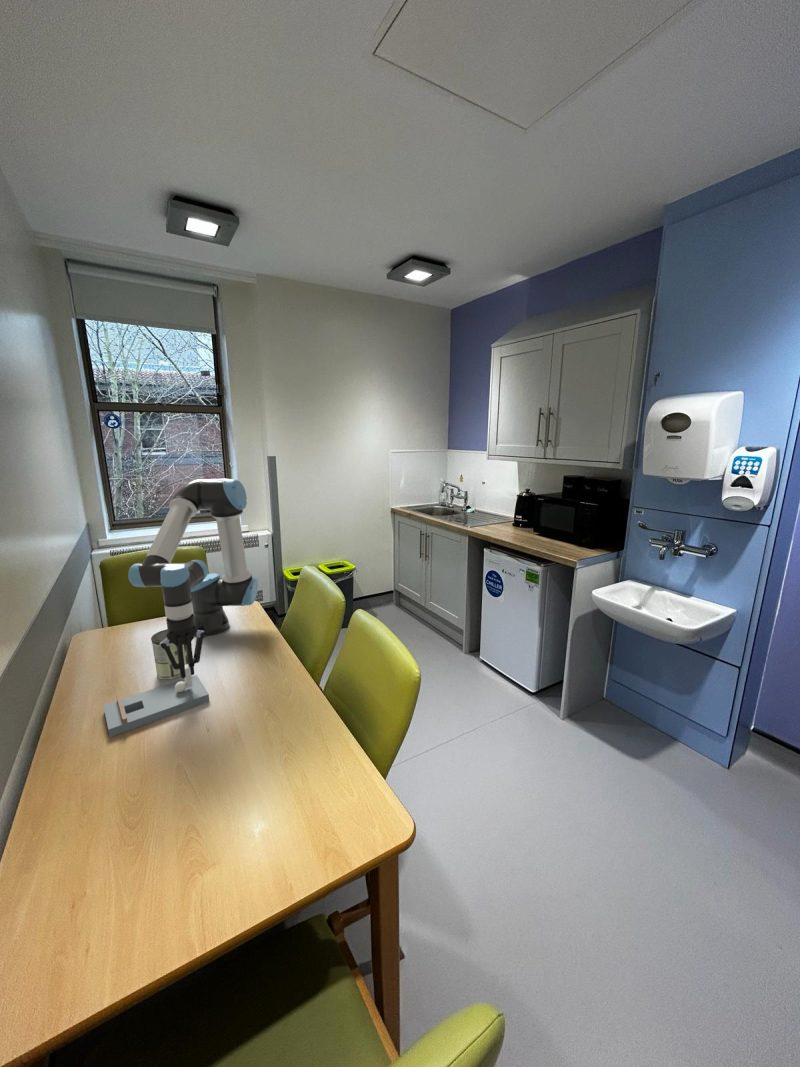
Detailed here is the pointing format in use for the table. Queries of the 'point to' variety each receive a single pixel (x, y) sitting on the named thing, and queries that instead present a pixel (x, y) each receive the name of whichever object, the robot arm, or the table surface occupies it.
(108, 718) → the deck
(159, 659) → the coffee can
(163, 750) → the table surface
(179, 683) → the ball
